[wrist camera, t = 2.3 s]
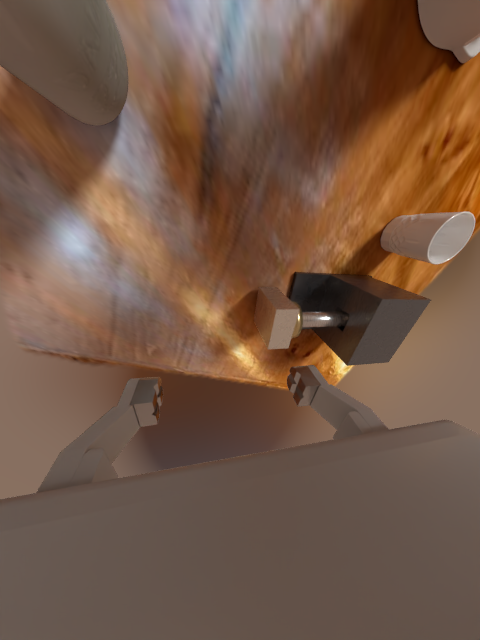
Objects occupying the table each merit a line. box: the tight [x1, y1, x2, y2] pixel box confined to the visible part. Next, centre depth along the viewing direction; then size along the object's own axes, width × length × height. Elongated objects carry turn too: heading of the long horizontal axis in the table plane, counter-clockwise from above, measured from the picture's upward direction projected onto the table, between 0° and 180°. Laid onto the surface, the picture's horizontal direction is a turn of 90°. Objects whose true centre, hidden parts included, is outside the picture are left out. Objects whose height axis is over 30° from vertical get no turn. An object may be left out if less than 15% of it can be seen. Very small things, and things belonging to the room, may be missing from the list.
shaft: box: [254, 287, 350, 349], centre depth 36 cm, size 22×8×10 cm, turn 86°
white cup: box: [380, 212, 475, 264], centre depth 33 cm, size 8×8×10 cm
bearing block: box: [288, 272, 431, 366], centre depth 37 cm, size 19×14×14 cm
